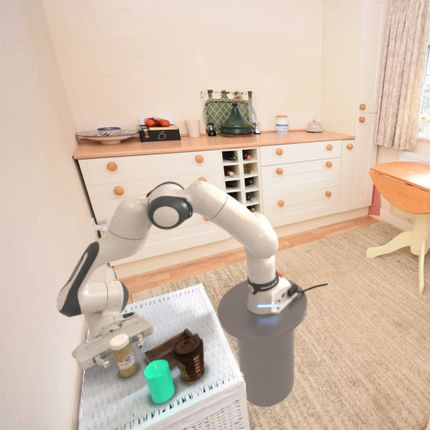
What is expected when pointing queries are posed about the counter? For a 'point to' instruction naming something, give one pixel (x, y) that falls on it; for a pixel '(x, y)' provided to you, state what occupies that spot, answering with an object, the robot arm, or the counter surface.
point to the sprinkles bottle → (123, 355)
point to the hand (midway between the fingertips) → (124, 355)
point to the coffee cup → (189, 357)
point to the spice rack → (165, 346)
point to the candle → (159, 381)
